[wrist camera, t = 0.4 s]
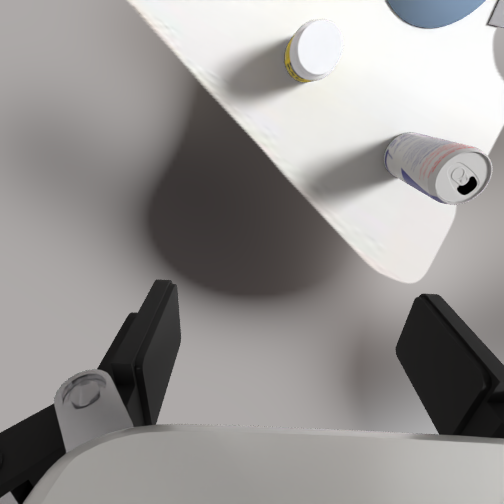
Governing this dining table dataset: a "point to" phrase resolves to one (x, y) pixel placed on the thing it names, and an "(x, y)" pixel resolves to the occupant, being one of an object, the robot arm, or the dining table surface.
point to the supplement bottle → (314, 51)
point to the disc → (433, 11)
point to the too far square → (498, 15)
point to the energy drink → (439, 167)
